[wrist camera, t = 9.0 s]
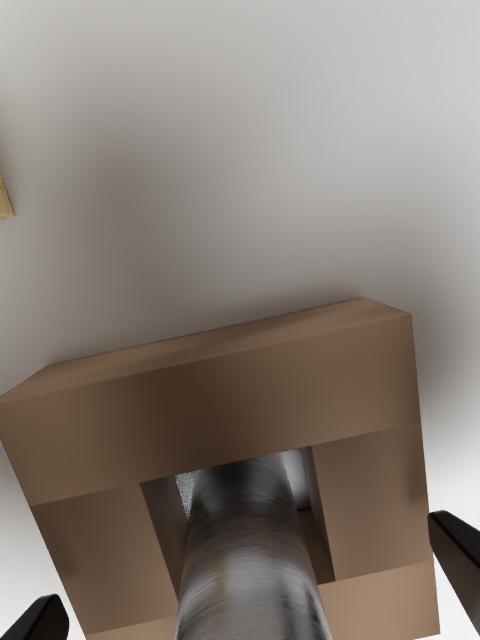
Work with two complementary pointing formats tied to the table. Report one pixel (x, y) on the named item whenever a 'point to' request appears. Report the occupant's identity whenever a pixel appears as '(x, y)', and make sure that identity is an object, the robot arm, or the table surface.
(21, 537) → the table surface
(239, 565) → the cylinder
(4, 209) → the square bit
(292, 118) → the table surface
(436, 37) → the table surface
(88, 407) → the bore block
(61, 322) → the table surface
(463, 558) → the robot arm
